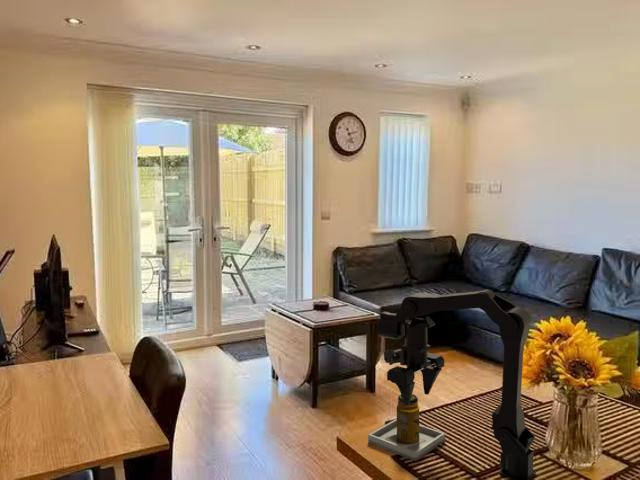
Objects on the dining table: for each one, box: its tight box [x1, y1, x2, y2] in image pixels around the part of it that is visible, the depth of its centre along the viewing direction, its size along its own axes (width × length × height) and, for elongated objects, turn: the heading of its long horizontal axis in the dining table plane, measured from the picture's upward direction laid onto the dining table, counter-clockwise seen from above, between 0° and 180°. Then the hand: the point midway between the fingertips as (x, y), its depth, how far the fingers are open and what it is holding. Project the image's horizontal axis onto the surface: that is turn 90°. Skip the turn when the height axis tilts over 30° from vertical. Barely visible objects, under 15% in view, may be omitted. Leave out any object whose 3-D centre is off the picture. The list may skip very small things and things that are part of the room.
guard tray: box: [367, 418, 446, 462], centre depth 145 cm, size 15×14×2 cm
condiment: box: [385, 393, 426, 448], centre depth 144 cm, size 7×8×12 cm
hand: (416, 399), depth 142 cm, fingers open, 9 cm apart
